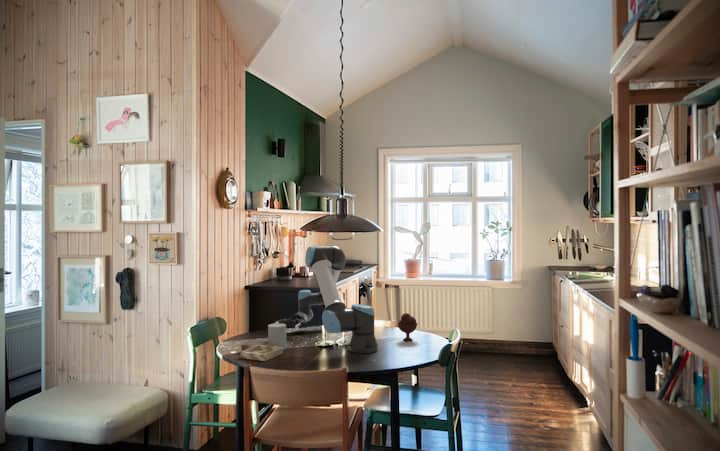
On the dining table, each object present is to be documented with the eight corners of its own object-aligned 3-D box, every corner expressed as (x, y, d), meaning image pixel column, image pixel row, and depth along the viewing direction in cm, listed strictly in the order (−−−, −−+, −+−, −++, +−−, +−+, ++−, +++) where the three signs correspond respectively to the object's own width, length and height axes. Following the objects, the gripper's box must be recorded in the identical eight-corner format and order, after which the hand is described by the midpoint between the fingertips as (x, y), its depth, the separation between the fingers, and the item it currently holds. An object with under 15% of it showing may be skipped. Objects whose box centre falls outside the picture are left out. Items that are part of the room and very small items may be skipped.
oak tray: (282, 353, 247) (282, 347, 247) (265, 361, 233) (265, 355, 233) (258, 350, 253) (258, 344, 253) (240, 357, 240) (240, 351, 240)
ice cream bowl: (396, 342, 266) (396, 315, 266) (400, 337, 277) (399, 311, 277) (416, 343, 263) (415, 315, 263) (418, 338, 274) (418, 312, 274)
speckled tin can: (282, 350, 252) (282, 327, 252) (265, 350, 254) (265, 326, 254) (289, 346, 261) (288, 323, 261) (272, 345, 263) (271, 322, 263)
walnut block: (251, 350, 253) (251, 343, 253) (248, 352, 249) (248, 345, 249) (243, 350, 253) (243, 343, 253) (241, 352, 249) (241, 345, 249)
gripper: (318, 326, 285) (305, 335, 264) (279, 324, 291) (263, 333, 270) (318, 314, 284) (305, 321, 264) (279, 312, 291) (263, 319, 270)
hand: (284, 327), depth 267 cm, fingers open, 13 cm apart
